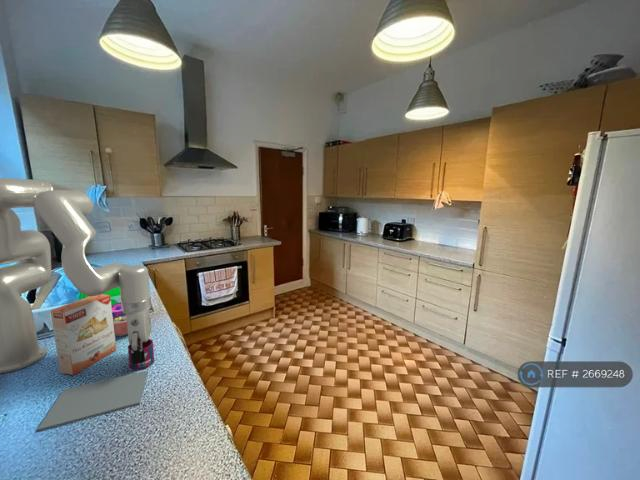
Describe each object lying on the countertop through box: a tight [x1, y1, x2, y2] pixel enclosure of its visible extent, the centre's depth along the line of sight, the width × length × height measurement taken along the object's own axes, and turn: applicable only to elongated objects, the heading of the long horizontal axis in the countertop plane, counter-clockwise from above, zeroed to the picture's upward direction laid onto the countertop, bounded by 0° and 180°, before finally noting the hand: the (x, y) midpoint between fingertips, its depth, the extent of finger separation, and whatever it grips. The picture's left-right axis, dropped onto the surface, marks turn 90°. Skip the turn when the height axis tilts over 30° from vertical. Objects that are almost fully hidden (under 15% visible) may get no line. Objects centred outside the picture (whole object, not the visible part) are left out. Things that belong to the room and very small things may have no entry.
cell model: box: [111, 302, 128, 337], centre depth 105 cm, size 17×20×11 cm
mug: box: [127, 338, 155, 371], centre depth 87 cm, size 7×10×7 cm
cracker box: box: [50, 293, 117, 376], centre depth 86 cm, size 14×6×21 cm, turn 168°
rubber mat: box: [37, 370, 149, 433], centre depth 72 cm, size 20×14×1 cm
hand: (141, 354), depth 87 cm, fingers closed on mug, 8 cm apart
